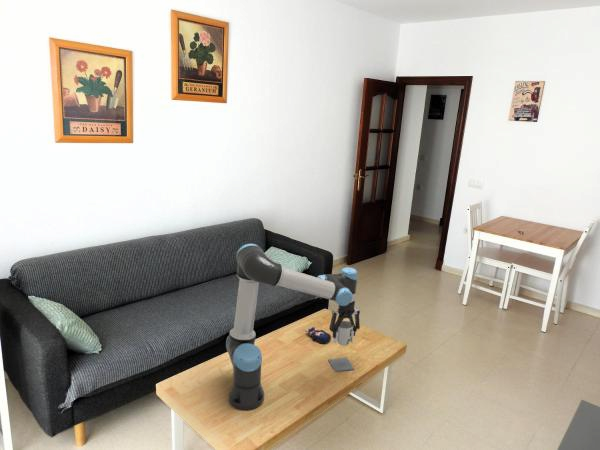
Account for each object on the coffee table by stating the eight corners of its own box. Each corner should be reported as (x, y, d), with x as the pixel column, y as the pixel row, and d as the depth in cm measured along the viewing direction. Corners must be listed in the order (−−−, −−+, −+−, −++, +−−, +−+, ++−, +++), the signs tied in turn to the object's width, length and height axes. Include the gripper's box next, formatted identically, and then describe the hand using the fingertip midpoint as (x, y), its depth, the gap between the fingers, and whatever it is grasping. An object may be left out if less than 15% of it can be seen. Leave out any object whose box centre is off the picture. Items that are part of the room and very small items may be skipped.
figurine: (312, 324, 250) (333, 333, 240) (311, 330, 251) (332, 340, 242) (302, 329, 243) (323, 339, 234) (301, 336, 244) (323, 346, 235)
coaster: (335, 372, 212) (335, 370, 212) (328, 360, 221) (328, 359, 221) (354, 370, 215) (354, 368, 215) (346, 358, 224) (346, 357, 224)
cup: (350, 348, 210) (352, 329, 208) (333, 346, 212) (335, 327, 209) (352, 340, 218) (353, 322, 215) (336, 337, 219) (337, 319, 217)
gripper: (329, 304, 203) (326, 348, 209) (370, 301, 208) (365, 344, 214) (324, 297, 210) (321, 340, 215) (363, 295, 215) (359, 336, 221)
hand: (343, 342), depth 215 cm, fingers closed on cup, 8 cm apart
